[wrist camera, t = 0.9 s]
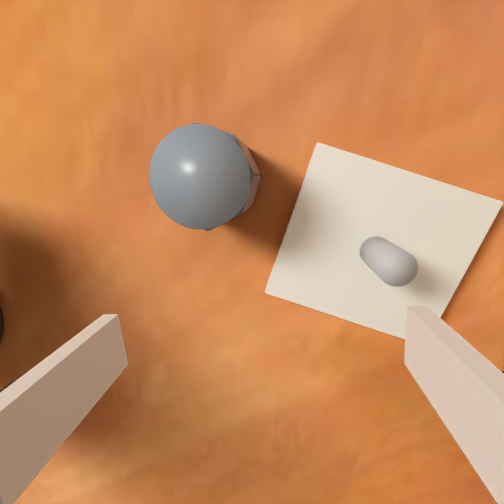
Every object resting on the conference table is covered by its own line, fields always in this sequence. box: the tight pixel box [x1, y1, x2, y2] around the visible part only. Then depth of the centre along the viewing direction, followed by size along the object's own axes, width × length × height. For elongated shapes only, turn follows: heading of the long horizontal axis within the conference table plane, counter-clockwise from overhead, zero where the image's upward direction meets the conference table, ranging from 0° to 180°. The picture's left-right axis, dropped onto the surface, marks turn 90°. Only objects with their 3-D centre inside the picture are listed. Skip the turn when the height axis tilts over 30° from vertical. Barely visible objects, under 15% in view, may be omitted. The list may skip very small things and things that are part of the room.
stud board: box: [265, 142, 504, 339], centre depth 27 cm, size 18×16×8 cm
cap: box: [149, 123, 261, 231], centre depth 26 cm, size 8×8×9 cm
